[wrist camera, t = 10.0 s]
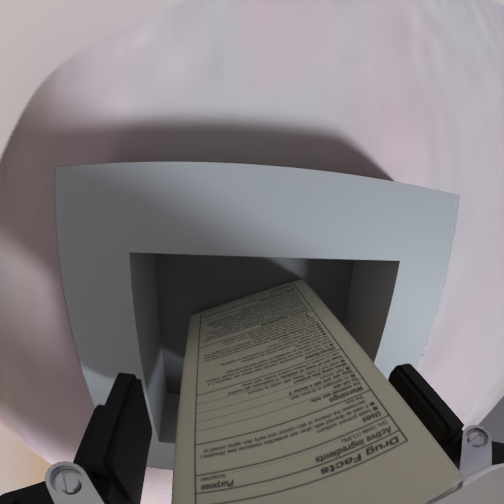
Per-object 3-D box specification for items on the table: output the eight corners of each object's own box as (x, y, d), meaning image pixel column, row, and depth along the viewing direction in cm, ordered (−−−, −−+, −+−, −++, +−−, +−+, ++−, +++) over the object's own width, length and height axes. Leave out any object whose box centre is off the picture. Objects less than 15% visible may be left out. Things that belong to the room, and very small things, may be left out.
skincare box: (217, 374, 15) (227, 585, 4) (188, 312, 14) (150, 567, 2) (324, 341, 16) (431, 528, 4) (309, 273, 14) (474, 481, 3)
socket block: (399, 186, 15) (459, 195, 10) (350, 405, 19) (375, 452, 14) (105, 167, 13) (55, 167, 8) (133, 409, 17) (118, 462, 12)
